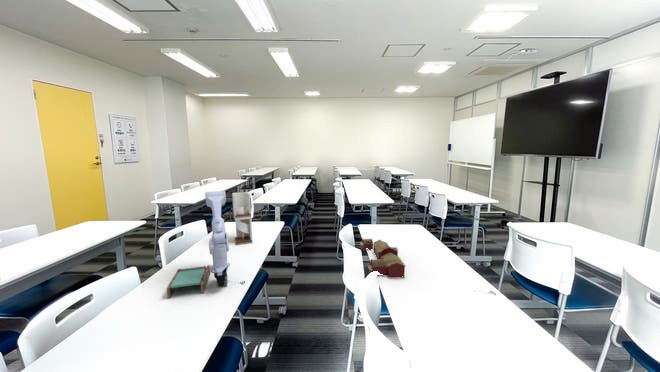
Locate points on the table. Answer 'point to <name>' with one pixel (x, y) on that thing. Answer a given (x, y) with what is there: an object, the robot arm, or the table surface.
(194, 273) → the trapdoor
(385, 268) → the toy houses
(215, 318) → the table surface
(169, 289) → the frame
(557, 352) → the table surface
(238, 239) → the display case
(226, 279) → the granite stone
